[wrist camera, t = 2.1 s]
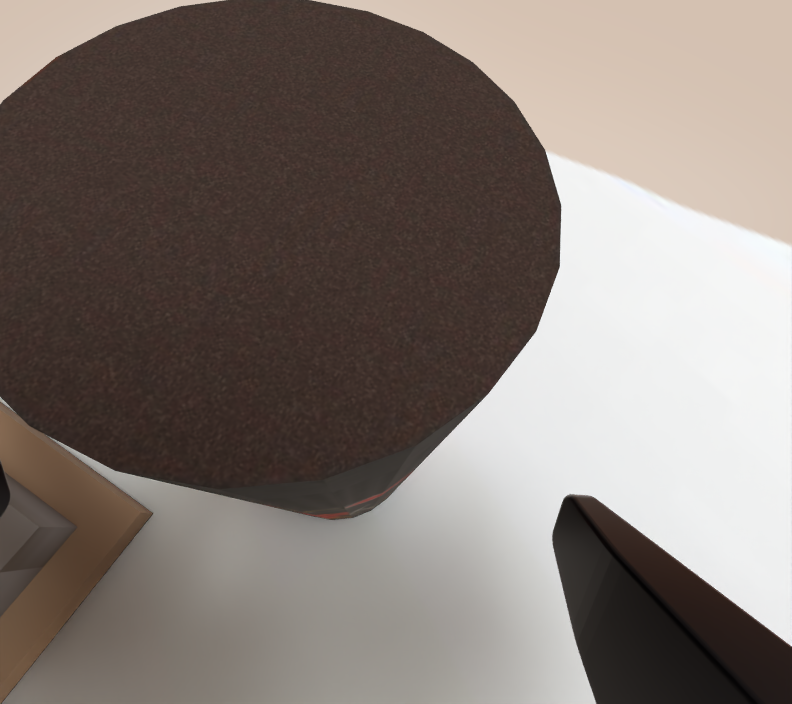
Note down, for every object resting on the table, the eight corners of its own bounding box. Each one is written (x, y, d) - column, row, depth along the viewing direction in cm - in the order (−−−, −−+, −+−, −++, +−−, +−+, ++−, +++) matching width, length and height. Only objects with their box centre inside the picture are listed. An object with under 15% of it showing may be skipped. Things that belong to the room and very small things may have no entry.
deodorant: (258, 391, 19) (-24, 11, 5) (392, 366, 20) (470, -15, 6) (276, 536, 17) (-125, 581, 3) (424, 500, 18) (661, 403, 4)
